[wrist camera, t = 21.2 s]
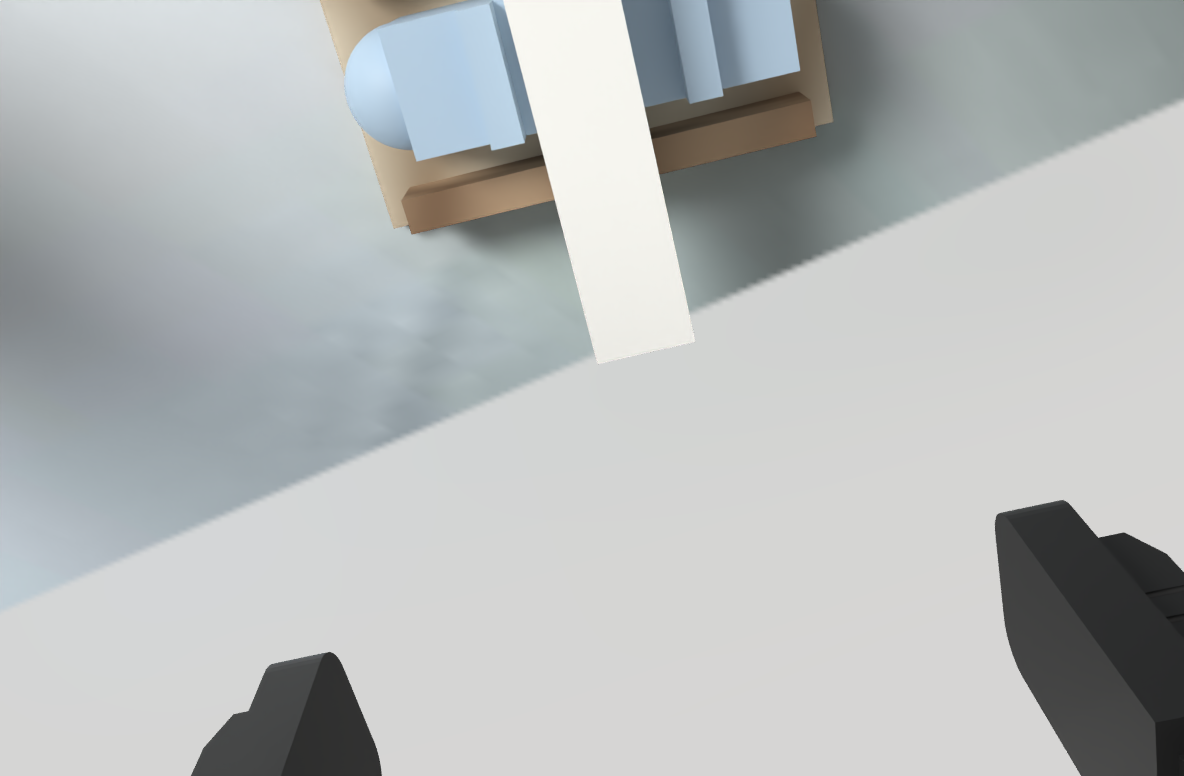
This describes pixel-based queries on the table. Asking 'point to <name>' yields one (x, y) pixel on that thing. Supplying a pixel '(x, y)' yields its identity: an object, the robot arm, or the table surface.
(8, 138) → the table surface
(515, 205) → the jig
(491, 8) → the light blue stepped block
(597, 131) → the white rectangular bar
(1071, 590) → the robot arm
